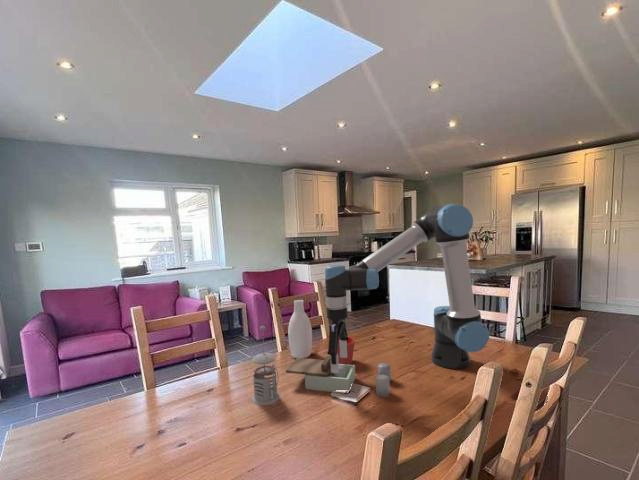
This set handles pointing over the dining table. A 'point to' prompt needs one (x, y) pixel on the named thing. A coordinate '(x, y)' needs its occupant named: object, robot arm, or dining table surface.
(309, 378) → the sage box
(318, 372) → the walnut lid
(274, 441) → the dining table surface
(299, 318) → the bottle
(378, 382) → the grey rounded cylinder
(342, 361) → the flower pot
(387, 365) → the grey cylinder
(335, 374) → the grey cylinder
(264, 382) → the french press
